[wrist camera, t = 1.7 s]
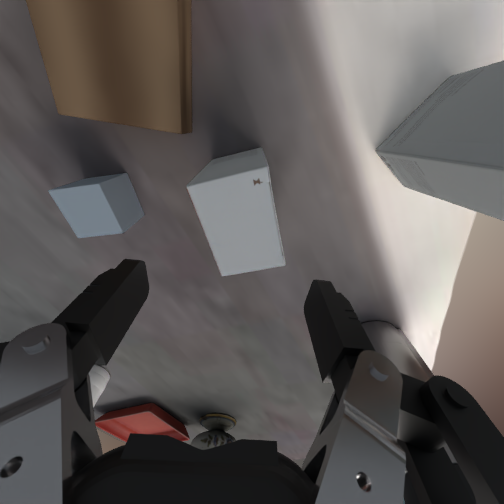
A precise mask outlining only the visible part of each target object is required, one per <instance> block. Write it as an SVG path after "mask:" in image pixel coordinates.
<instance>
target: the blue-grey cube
mask: <svg viewBox="0 0 504 504" xmlns="http://www.w3.org/2000/svg"><path fill="white" fill-rule="evenodd" d="M48 191H49V193H50V195H51V196H52V198H53V199H54V201H55V202H56V204H57V206H58V207H59V209H60V210H61V212H62V213H63V215H64V217H65V218H66V220H67V221H68V223H69V224H70V226H71V228H72V229H73V231H74V232H75V234H76V235H77V237H78V238H84V237H93V236H102V235H111V234H119V233H124V232H125V231H126V230H128V229H129V228H130V227H131V226H132V225H134V224H135V223H136V222H137V221H138V220H139V219H141V218H142V217H143V216H144V215H145V214H144V212H143V210H142V207H141V205H140V203H139V200H138V198H137V195H136V193H135V191H134V188H133V186H132V183H131V181H130V179H129V176H128V174H127V173H121V174H114V175H107V176H99V177H92V178H85V179H82V180H79V181H76V182H73V183H70V184H67V185H64V186H60V187H57V188H54V189H51V190H48Z"/></svg>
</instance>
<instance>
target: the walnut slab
mask: <svg viewBox="0 0 504 504" xmlns="http://www.w3.org/2000/svg"><path fill="white" fill-rule="evenodd" d="M26 2H27V6H28V9H29V13H30V16H31V20H32V23H33V27H34V30H35V34H36V37H37V41H38V44H39V48H40V51H41V54H42V58H43V61H44V65H45V68H46V72H47V75H48V79H49V82H50V86H51V89H52V93H53V96H54V100H55V103H56V106H57V110H58V113H59V114H61V115H67V116H73V117H79V118H86V119H92V120H98V121H104V122H110V123H116V124H123V125H129V126H135V127H141V128H147V129H154V130H160V131H166V132H172V133H178V134H184V133H190V132H192V57H191V0H26Z"/></svg>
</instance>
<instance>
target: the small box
mask: <svg viewBox="0 0 504 504" xmlns="http://www.w3.org/2000/svg"><path fill="white" fill-rule="evenodd" d="M186 188H187V191H188V193H189V196H190V198H191V201H192V204H193V206H194V208H195V211H196V213H197V216H198V219H199V221H200V224H201V226H202V228H203V231H204V234H205V236H206V239H207V241H208V244H209V246H210V249H211V251H212V254H213V256H214V259H215V261H216V264H217V266H218V269H219V271H220V274H221V276H227V275H234V274H240V273H245V272H251V271H257V270H263V269H268V268H274V267H280V266H285V265H286V261H285V256H284V252H283V247H282V242H281V236H280V231H279V225H278V220H277V214H276V209H275V203H274V197H273V192H272V186H271V179H270V172H269V166H268V163H267V160H266V157H265V154H264V151H263V149H262V147H260V148H256V149H252V150H248V151H244V152H240V153H236V154H232V155H228V156H224V157H220V158H216V159H213V160H211V161H210V162H209V163H208V164H207V165H206V166H205V167H204V168H203V169H202V170H201V171H200V172H199V173H198V174H197V175H196V176H195V177H194V178H193V179H192V180H191V181H190V183H189V184H188V185H187V186H186Z"/></svg>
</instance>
